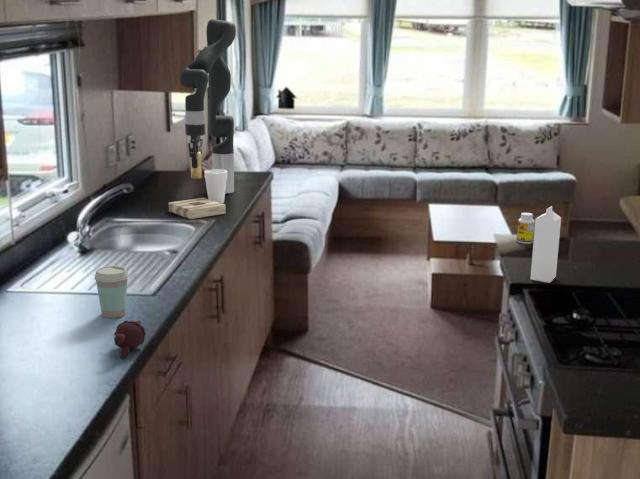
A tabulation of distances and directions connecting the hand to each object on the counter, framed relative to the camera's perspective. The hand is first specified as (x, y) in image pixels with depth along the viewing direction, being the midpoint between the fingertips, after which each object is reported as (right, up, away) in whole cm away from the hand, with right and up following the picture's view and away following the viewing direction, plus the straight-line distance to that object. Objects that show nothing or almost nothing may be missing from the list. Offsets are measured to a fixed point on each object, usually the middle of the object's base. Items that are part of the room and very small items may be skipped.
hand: (196, 166), depth 325 cm
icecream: (+4, -54, -129) cm, 140 cm away
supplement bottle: (+119, -29, -31) cm, 127 cm away
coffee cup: (-6, -48, -107) cm, 118 cm away
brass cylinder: (0, -4, +1) cm, 4 cm away
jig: (0, -17, +5) cm, 18 cm away
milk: (+115, -40, -72) cm, 141 cm away
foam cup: (+5, -13, +23) cm, 27 cm away
